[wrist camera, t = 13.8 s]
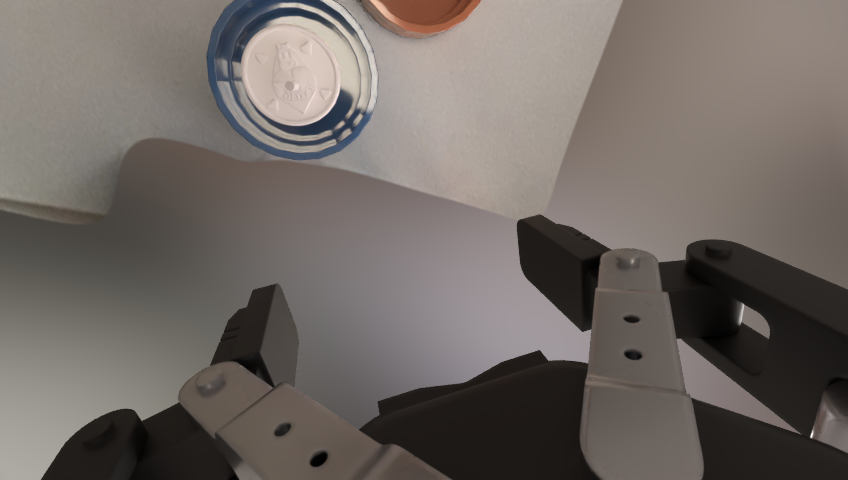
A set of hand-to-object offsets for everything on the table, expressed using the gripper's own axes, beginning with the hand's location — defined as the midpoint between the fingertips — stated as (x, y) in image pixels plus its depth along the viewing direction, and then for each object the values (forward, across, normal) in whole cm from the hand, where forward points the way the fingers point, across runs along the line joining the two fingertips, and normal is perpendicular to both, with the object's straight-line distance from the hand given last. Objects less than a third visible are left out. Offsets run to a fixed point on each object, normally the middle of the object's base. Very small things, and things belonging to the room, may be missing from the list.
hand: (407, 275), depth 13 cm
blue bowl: (+28, +3, -7) cm, 29 cm away
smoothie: (+28, +3, -7) cm, 29 cm away
